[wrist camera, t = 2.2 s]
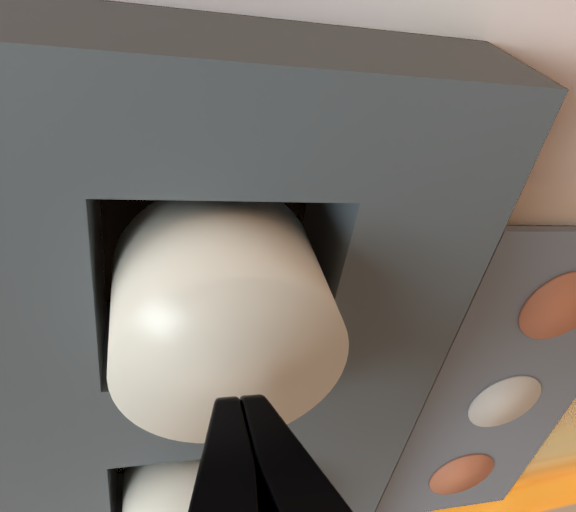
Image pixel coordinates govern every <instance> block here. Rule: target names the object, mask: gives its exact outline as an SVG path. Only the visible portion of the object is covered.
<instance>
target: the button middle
mask: <svg viewBox="0 0 576 512" xmlns="http://www.w3.org/2000/svg"><path fill="white" fill-rule="evenodd" d="M199 463H200V459H196V460H187V461H178V462H168V463H159V464H150V465H141V466H131V467H125V470H124V473H123V496H122V512H188V509H189V505H190V501H191V497H192V492H193V488H194V484H195V480H196V476H197V472H198V467H199Z"/></svg>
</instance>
